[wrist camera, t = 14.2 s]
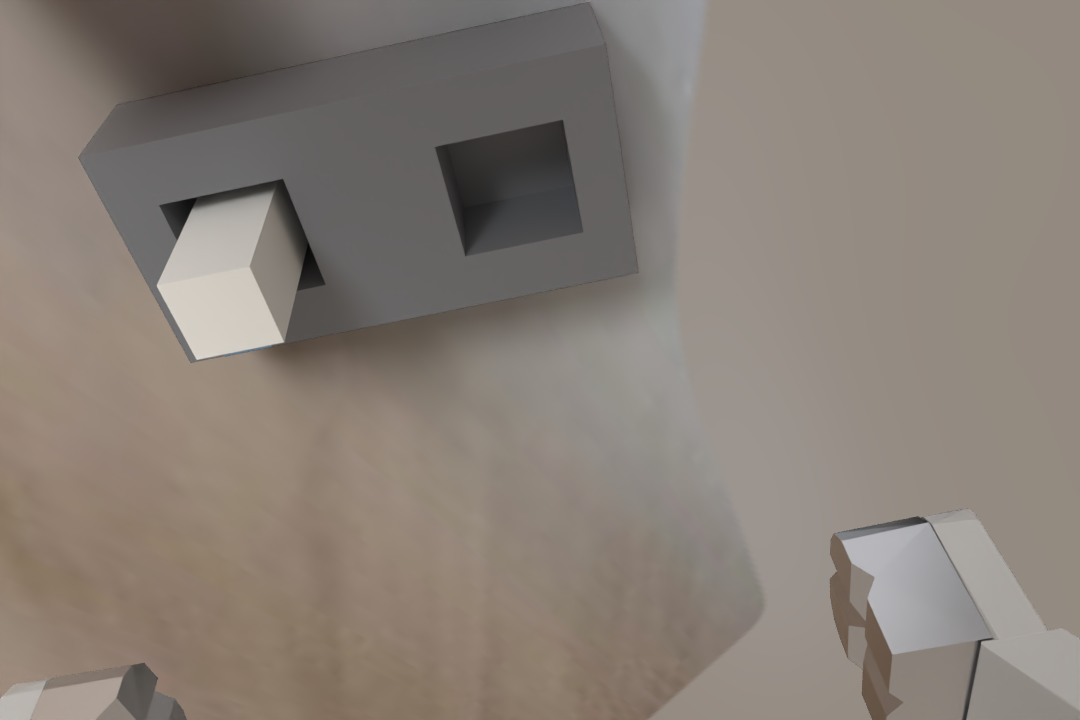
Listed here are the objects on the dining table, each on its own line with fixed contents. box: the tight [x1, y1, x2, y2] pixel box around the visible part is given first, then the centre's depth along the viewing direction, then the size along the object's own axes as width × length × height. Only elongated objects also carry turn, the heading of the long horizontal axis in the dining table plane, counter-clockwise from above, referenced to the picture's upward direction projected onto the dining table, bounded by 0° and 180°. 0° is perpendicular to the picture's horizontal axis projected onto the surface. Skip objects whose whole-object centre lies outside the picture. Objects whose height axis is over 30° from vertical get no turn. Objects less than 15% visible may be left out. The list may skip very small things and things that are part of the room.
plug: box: [157, 179, 308, 360], centre depth 37 cm, size 4×3×9 cm
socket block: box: [78, 2, 638, 363], centre depth 38 cm, size 10×20×5 cm, turn 101°
